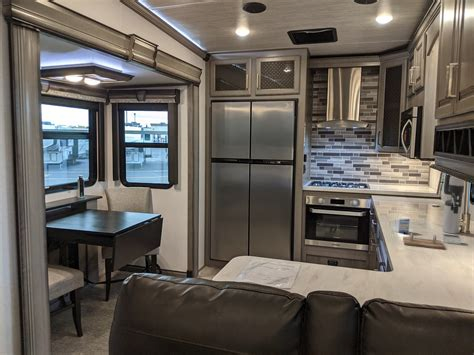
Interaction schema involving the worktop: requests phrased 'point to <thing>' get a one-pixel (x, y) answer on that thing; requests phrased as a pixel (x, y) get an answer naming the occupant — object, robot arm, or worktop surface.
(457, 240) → the block
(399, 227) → the medicine box
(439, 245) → the pin tray
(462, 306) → the worktop surface
